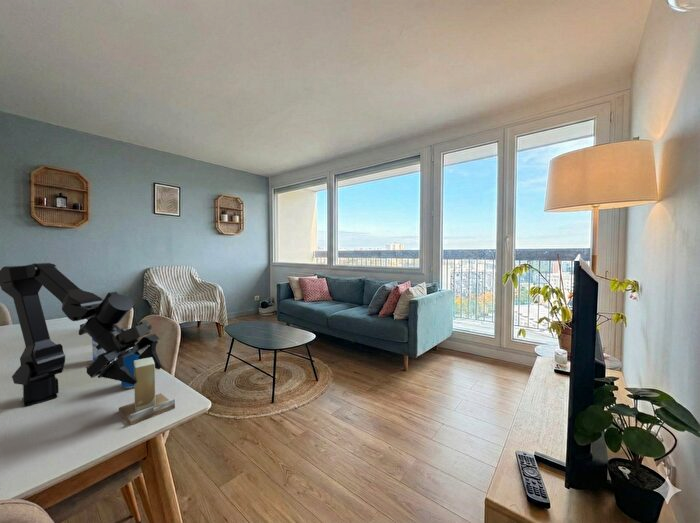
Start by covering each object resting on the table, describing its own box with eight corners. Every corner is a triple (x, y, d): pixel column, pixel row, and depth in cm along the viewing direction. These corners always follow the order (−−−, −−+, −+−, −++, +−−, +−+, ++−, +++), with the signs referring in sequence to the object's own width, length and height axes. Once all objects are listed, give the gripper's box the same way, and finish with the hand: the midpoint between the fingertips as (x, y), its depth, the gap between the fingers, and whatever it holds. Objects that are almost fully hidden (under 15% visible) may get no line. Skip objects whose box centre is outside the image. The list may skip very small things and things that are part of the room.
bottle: (89, 362, 111) (87, 317, 110) (106, 357, 116) (105, 314, 115) (100, 365, 108) (99, 319, 107) (117, 359, 113) (116, 316, 112)
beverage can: (133, 390, 89) (132, 352, 88) (116, 388, 90) (115, 350, 89) (151, 381, 95) (150, 345, 95) (135, 379, 96) (134, 343, 96)
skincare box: (134, 403, 79) (133, 359, 79) (153, 398, 82) (152, 356, 81) (135, 413, 74) (134, 367, 74) (156, 408, 77) (155, 363, 77)
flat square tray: (131, 425, 71) (130, 416, 71) (118, 411, 77) (118, 402, 77) (175, 408, 79) (175, 399, 79) (160, 396, 85) (160, 388, 85)
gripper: (96, 322, 68) (143, 369, 68) (152, 307, 87) (189, 343, 87) (65, 354, 69) (111, 401, 69) (127, 332, 87) (164, 368, 87)
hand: (148, 375), depth 78 cm, fingers open, 9 cm apart
